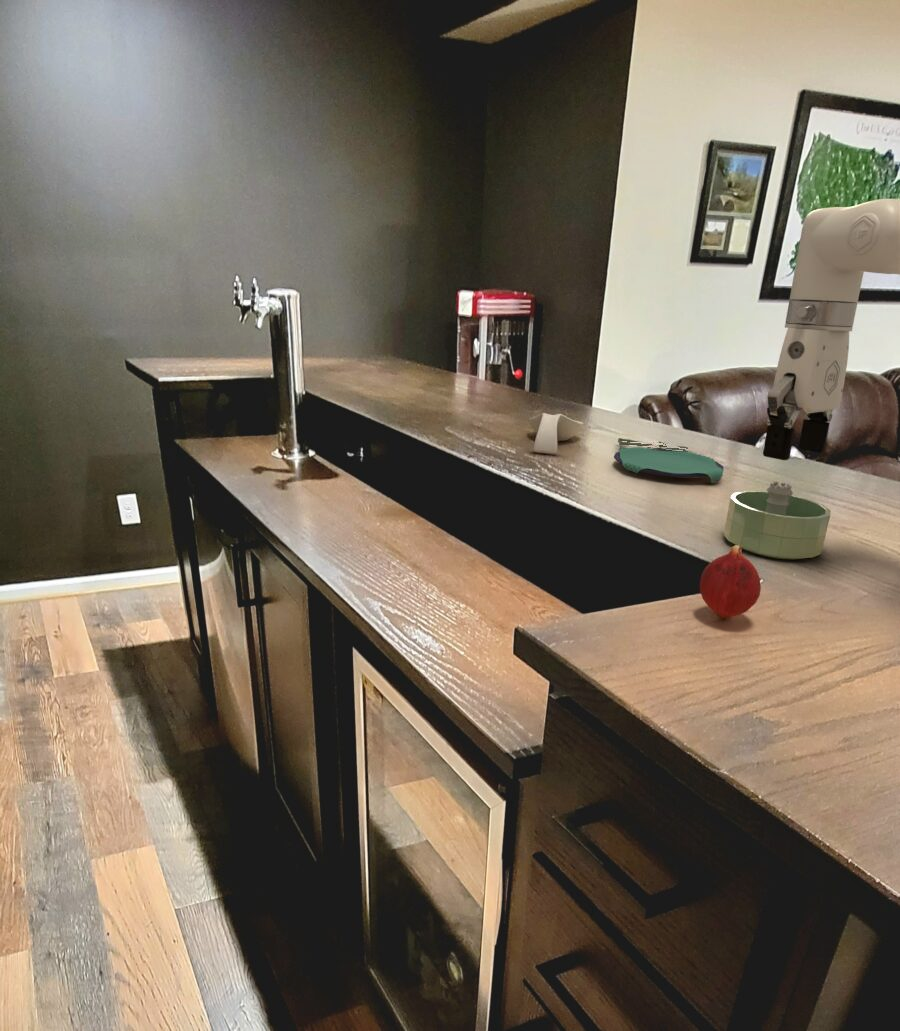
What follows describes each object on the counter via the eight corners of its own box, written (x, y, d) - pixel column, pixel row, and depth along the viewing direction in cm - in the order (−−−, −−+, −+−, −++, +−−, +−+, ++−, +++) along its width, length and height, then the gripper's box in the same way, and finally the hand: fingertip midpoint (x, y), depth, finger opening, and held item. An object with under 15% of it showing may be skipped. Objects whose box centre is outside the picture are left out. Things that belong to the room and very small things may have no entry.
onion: (762, 633, 72) (778, 558, 70) (705, 630, 72) (719, 555, 70) (739, 607, 78) (754, 538, 75) (687, 605, 78) (699, 535, 75)
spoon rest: (530, 430, 165) (533, 398, 163) (582, 435, 162) (586, 403, 160) (516, 451, 143) (519, 416, 141) (576, 458, 140) (580, 422, 138)
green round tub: (800, 534, 103) (809, 494, 101) (836, 566, 92) (846, 521, 90) (713, 527, 104) (720, 487, 102) (738, 558, 92) (746, 513, 91)
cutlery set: (615, 479, 127) (617, 466, 126) (607, 443, 155) (609, 433, 155) (732, 490, 124) (734, 477, 124) (703, 452, 153) (705, 441, 152)
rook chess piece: (745, 539, 98) (757, 482, 95) (761, 533, 101) (772, 478, 98) (778, 549, 95) (790, 490, 92) (793, 542, 98) (805, 486, 95)
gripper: (819, 317, 80) (791, 467, 85) (880, 320, 91) (851, 453, 96) (755, 314, 86) (732, 455, 91) (820, 317, 97) (796, 443, 101)
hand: (793, 454), depth 93 cm, fingers open, 9 cm apart
